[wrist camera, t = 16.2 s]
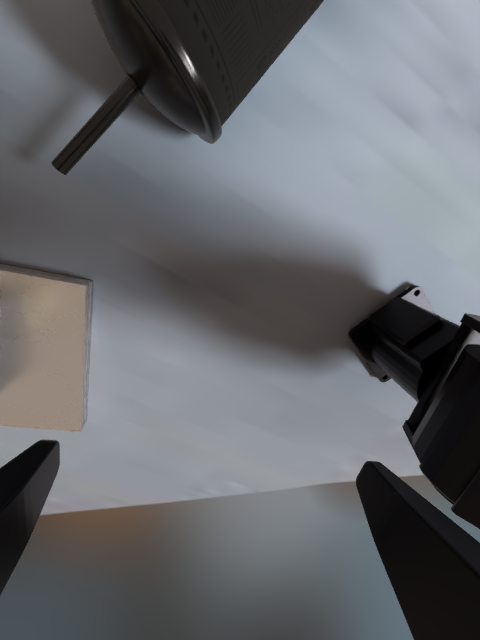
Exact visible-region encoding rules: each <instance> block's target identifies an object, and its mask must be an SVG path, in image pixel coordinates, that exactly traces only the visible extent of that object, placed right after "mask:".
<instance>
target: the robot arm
mask: <svg viewBox="0 0 480 640" xmlns="http://www.w3.org/2000/svg"><path fill="white" fill-rule="evenodd" d="M415 291H416V293H415V294H414V292H415ZM460 322H462V324H461V325H460V326H459V325H457V324H454V323H452V322H450V321H448V320H446V319H444V318H442V317H440V316H438V315H436V314H435V313H434V311H433V309H432V307H431V305H430V303H429V301H428V299H427V297H426V295H425V292H424V290H423V289H422V287H419V286H416V285H414V286H412V287H410V288H409V289H407V290H406V291H404V292H403V293H402V294H400V295H399V296H398V297H396V298H395V299H393V300H392V301H391V302H389V303H388V304H386V305H385V306H384V307H382V308H381V309H379V310H378V311H377V312H375V313H374V314H372V315H371V316H370V317H368V318H367V319H366V320H364V321H363V322H361V323H360V324H359V325H357V326H356V327H354V328H353V329H352V330H351V331H350V332H349V338H350V339H351V341H352V342H353V344H354V345H355V346H356V348H357V349H358V351H359V352H360V354H361V355H362V357H363V358H364V359H365V361H366V362H367V364H368V365H369V367H370V368H371V370H372V371H373V373H374V374H375V375H376V377H377V378H378V379H379V380H380V381H381V382H386V381H388V380H389V379H391V378H392V379H393V380H394V381H395V382H396V383H397V384H398V385H400V386H401V387H402V388H403V389H404V390H405V391H406V392H407V393H408V394H409V395H410V396H412V397H413V398H414V399H415V400H416V401H417V402H418V403H417V405H416V407H415V408H414V410H413V412H412V414H411V416H410V417H409V419H408V420H406V421H405V423H404V425H403V429H404V431H405V433H406V435H407V437H408V439H409V441H410V443H411V445H412V447H413V449H414V451H415V453H416V455H417V457H418V459H419V461H420V463H421V464H420V465H419V467H420V469H421V471H422V473H423V474H424V475H425V476H426V477H427V479H428V480H429V481H430V482H431V483H432V485H433V486H434V487H435V488H436V490H437V491H438V492H439V493H441V495H442V496H444V497H445V498H446V499H447V500H448V501H449V502H451V503H452V504H453V506H452V507H451V510H452V511H453V512H454V513H455V514H456V515H458V516H459V517H461V518H463V519H464V520H466V521H468V522H469V523H471V524H473V525H474V526H476V527H478V528H479V529H480V316H477V315H472V314H466V313H465V314H464V316H463V318H462V320H461V321H460ZM356 333H357V335H356V336H354V335H355V334H356ZM383 376H384V377H383ZM59 464H60V445H59V442H58V441H56V440H40V441H38V442H36V443H35V444H33V445H32V446H31V447H29V448H28V449H26V450H25V451H24V452H22V453H21V454H19V455H18V456H17V457H15V458H14V459H12V460H11V461H10V462H8V463H7V464H6V465H4V466H3V467H1V468H0V595H1V593H2V591H3V589H4V588H5V586H6V584H7V582H8V580H9V578H10V576H11V574H12V572H13V570H14V569H15V567H16V565H17V563H18V561H19V559H20V557H21V555H22V553H23V551H24V549H25V547H26V545H27V543H28V541H29V539H30V537H31V534H32V532H33V530H34V527H35V525H36V523H37V520H38V518H39V515H40V513H41V511H42V508H43V506H44V504H45V501H46V499H47V496H48V494H49V492H50V489H51V487H52V484H53V482H54V480H55V477H56V475H57V472H58V469H59ZM356 486H357V489H358V492H359V496H360V499H361V502H362V505H363V508H364V511H365V514H366V517H367V521H368V524H369V527H370V530H371V533H372V536H373V539H374V542H375V544H376V547H377V549H378V552H379V554H380V557H381V559H382V562H383V564H384V566H385V569H386V572H387V574H388V577H389V579H390V581H391V584H392V587H393V589H394V591H395V594H396V596H397V599H398V601H399V604H400V606H401V609H402V611H403V613H404V616H405V619H406V621H407V623H408V626H409V628H410V631H411V633H412V636H413V638H414V640H480V543H479V542H478V541H476V540H475V539H474V538H473V537H472V536H470V535H469V534H468V533H467V532H466V531H464V530H463V529H462V528H461V527H459V526H458V525H457V524H456V523H454V522H453V521H452V520H451V519H449V518H448V517H447V516H446V515H444V514H443V513H442V512H441V511H440V510H438V509H437V508H436V507H434V506H433V505H432V504H431V503H430V502H428V501H427V500H426V499H425V498H423V497H422V496H421V495H420V494H418V493H417V492H416V491H415V490H414V489H412V488H411V487H410V486H409V485H407V484H406V483H405V482H403V481H402V480H401V479H400V478H399V477H398V476H396V475H395V474H394V473H393V472H391V471H390V470H389V469H388V468H386V467H385V466H384V465H383V464H381V463H380V462H376V461H367V462H365V464H364V465H363V467H362V469H361V471H360V473H359V474H358V476H357V478H356Z"/></svg>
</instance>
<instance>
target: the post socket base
mask: <svg viewBox="0 0 480 640" xmlns="http://www.w3.org/2000/svg"><path fill="white" fill-rule="evenodd" d="M92 291H93V281H91V280H86V279H81V278H75V277H70V276H64V275H59V274H54V273H48V272H43V271H37V270H32V269H26V268H21V267H16V266H10V265H5V264H0V426H10V427H24V428H37V429H50V430H64V431H77V432H81V431H82V429H83V427H84V425H85V423H86V421H87V405H88V383H89V360H90V337H91V314H92Z"/></svg>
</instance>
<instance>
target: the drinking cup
mask: <svg viewBox="0 0 480 640" xmlns="http://www.w3.org/2000/svg"><path fill="white" fill-rule="evenodd" d="M323 1H324V0H91V2H92V5H93V8H94V11H95V13H96V16H97V18H98V20H99V23H100V25H101V28H102V30H103V32H104V34H105V36H106V38H107V40H108V42H109V44H110V46H111V48H112V50H113V52H114V53H115V55H116V57H117V59H118V61H119V62H120V64H121V66H122V67H123V69H124V70H125V72H126V73H127V75H128V77H127V78H126V79H125V80H124V81H123V82H122V83H121V84H120V86H119V87H118V88H117V89H116V90H115V91H114V92H113V93H112V95H111V96H110V97H109V98H108V99H107V100H106V101H105V103H104V104H103V105H102V106H101V107H100V108H99V109H98V110H97V112H96V113H95V114H94V115H93V116H92V117H91V118H90V119H89V121H88V122H87V123H86V124H85V125H84V126H83V127H82V128H81V130H80V131H79V132H78V133H77V134H76V135H75V136H74V137H73V139H72V140H71V141H70V142H69V143H68V144H67V145H66V146H65V148H64V149H63V150H62V151H61V152H60V153H59V154H58V155H57V157H56V158H55V159H54V160H53V161H52V162H51V163H52V165H53V166H54V167H55V168H56V169H57V170H58V171H60V172H61V173H62V174H64V175H66V174H67V173H68V172H69V171H70V170H71V169H72V168H73V166H74V165H75V164H76V163H77V162H78V161H79V160H80V159H81V158H82V157H83V155H84V154H85V153H86V152H87V151H88V150H89V149H90V148H91V147H92V146H93V144H94V143H95V142H96V141H97V140H98V139H99V138H100V137H101V136H102V134H103V133H104V132H105V131H106V130H107V129H108V128H109V127H110V126H111V125H112V123H113V122H114V121H115V120H116V119H117V118H118V117H119V116H120V115H121V114H122V112H123V111H124V110H125V109H126V108H127V107H128V106H129V105H130V104H131V102H132V101H133V100H134V99H135V98H136V97H137V96H138V95H139V94H140V93H142V95H143V96H144V97H145V98H146V99H147V100H148V101H149V102H150V103H151V104H152V105H153V106H154V107H155V108H156V109H157V110H158V111H159V112H160V113H162V114H163V115H164V116H165V117H166V118H167V119H169V120H170V121H171V122H173V123H174V124H176V125H177V126H179V127H180V128H182V129H184V130H186V131H188V132H190V133H193V134H196V135H198V136H199V137H200V138H202V139H203V140H204V141H206V142H208V143H210V144H213V143H215V142H216V141H217V140H218V139H219V138H220V136H221V134H222V127H221V126H222V125H223V124H224V123H225V121H226V120H227V119H228V118H229V116H230V115H231V114H232V113H233V112H234V110H235V109H236V108H237V107H238V105H239V104H240V103H241V102H242V100H243V99H244V98H245V97H246V96H247V94H248V93H249V92H250V91H251V89H252V88H253V87H254V86H255V84H256V83H257V82H258V81H259V80H260V78H261V77H262V76H263V75H264V73H265V72H266V71H267V70H268V68H269V67H270V66H271V65H272V64H273V62H274V61H275V60H276V59H277V57H278V56H279V55H280V54H281V52H282V51H283V50H284V49H285V48H286V46H287V45H288V44H289V43H290V41H291V40H292V39H293V38H294V36H295V35H296V34H297V33H298V32H299V30H300V29H301V28H302V27H303V25H304V24H305V23H306V22H307V20H308V19H309V18H310V17H311V16H312V14H313V13H314V12H315V11H316V9H317V8H318V7H319V6H320V4H321V3H322V2H323Z"/></svg>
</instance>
